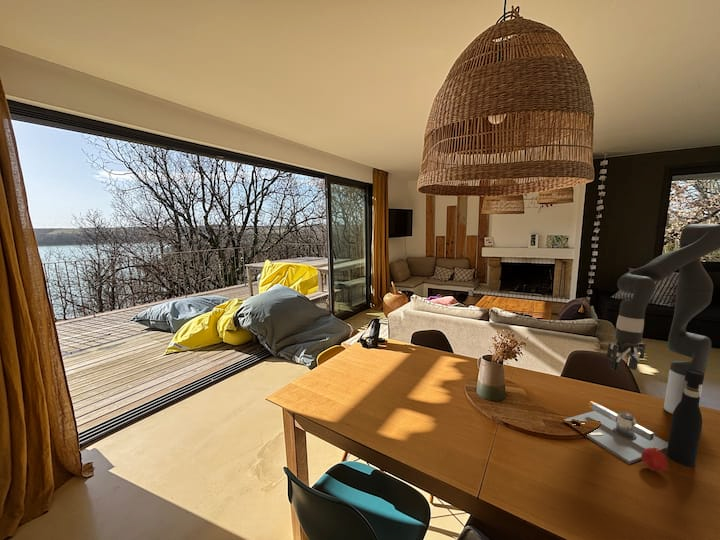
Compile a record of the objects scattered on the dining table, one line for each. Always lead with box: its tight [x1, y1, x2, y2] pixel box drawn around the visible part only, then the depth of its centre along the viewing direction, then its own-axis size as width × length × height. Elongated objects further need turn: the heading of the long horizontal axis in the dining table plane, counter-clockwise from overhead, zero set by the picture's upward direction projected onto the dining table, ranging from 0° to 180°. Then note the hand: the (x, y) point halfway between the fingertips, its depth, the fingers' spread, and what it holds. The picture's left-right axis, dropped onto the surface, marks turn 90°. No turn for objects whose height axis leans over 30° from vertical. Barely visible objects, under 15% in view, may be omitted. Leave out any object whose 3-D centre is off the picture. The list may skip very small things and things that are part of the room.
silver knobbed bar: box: [588, 400, 655, 441], centre depth 110 cm, size 20×5×7 cm, turn 19°
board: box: [562, 410, 668, 465], centre depth 109 cm, size 22×22×1 cm
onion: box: [641, 447, 669, 472], centre depth 92 cm, size 6×6×8 cm
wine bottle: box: [666, 369, 705, 468], centre depth 95 cm, size 6×6×30 cm
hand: (623, 369), depth 114 cm, fingers open, 8 cm apart
